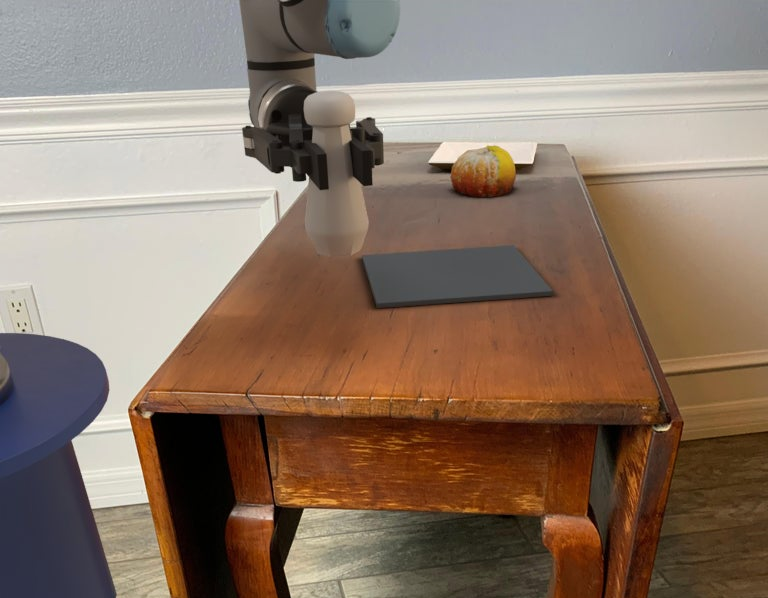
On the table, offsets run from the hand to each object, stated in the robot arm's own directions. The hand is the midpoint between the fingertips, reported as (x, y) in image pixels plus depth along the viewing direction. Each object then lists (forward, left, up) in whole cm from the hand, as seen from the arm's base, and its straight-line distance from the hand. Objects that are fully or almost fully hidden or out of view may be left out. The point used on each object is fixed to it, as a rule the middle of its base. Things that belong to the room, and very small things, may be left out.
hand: (345, 170), depth 64 cm
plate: (+32, +88, -18) cm, 95 cm away
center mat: (+14, +25, -18) cm, 34 cm away
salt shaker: (-1, +5, -8) cm, 10 cm away
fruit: (+27, +67, -18) cm, 75 cm away
